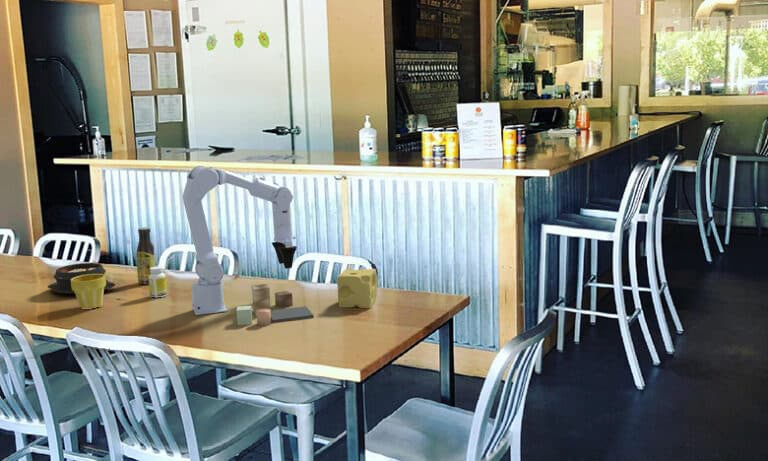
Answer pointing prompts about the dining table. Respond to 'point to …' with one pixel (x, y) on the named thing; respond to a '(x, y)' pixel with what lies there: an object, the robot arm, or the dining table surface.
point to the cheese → (357, 288)
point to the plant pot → (89, 289)
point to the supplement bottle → (157, 282)
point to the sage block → (244, 315)
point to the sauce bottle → (144, 255)
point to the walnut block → (283, 299)
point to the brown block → (263, 317)
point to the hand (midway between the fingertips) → (285, 265)
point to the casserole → (71, 271)
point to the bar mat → (290, 314)
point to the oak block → (261, 297)
